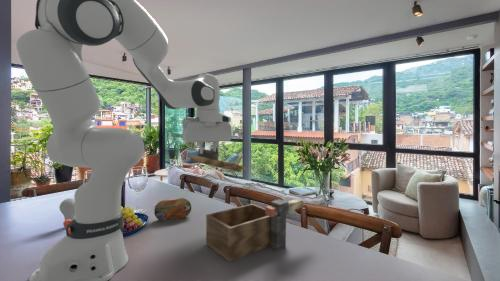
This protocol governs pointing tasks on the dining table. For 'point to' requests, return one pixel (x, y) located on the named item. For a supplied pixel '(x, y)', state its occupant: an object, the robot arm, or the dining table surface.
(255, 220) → the toolbox
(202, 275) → the dining table surface
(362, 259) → the dining table surface
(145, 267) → the dining table surface
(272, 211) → the light wooden bar
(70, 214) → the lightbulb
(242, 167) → the lid
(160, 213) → the tin
